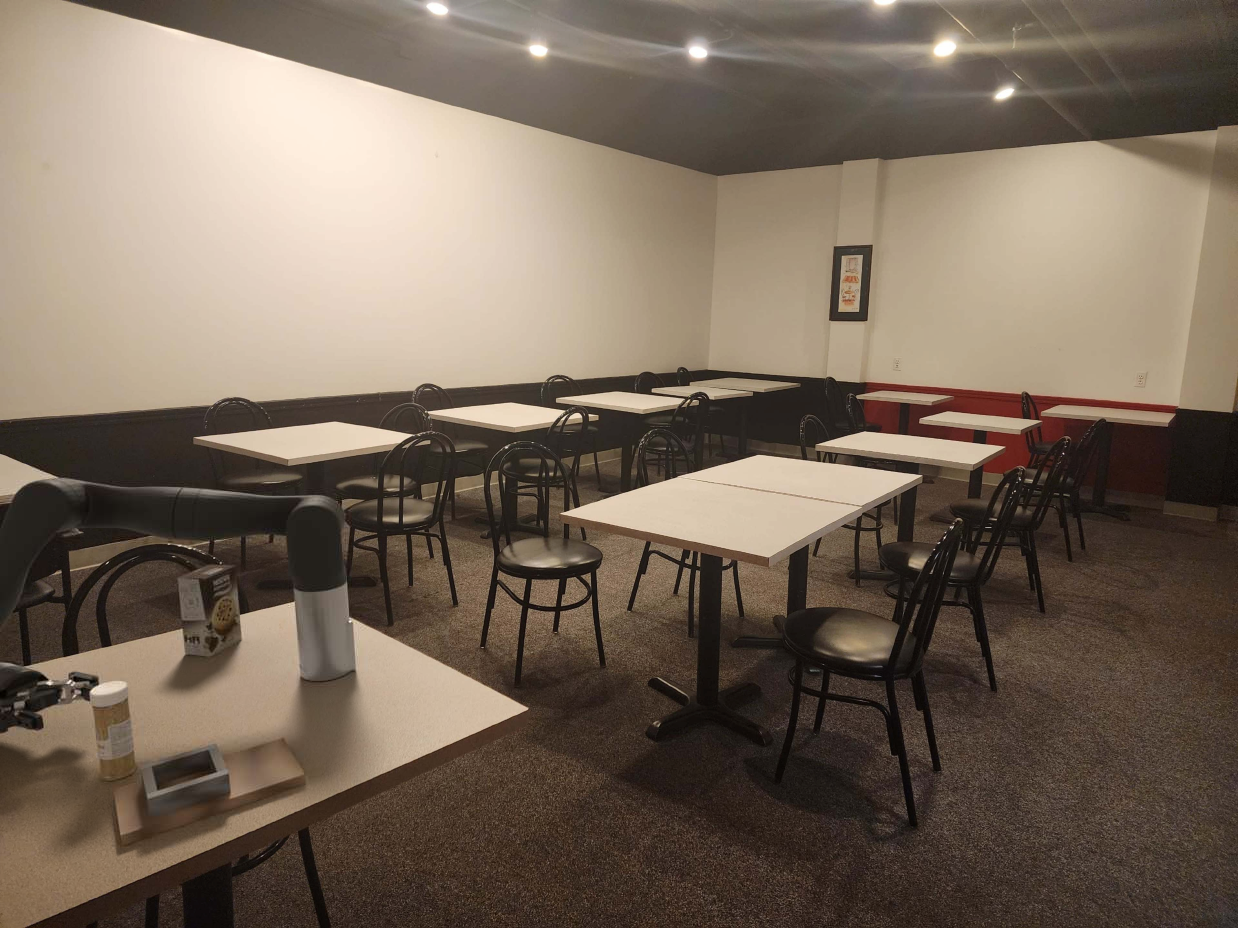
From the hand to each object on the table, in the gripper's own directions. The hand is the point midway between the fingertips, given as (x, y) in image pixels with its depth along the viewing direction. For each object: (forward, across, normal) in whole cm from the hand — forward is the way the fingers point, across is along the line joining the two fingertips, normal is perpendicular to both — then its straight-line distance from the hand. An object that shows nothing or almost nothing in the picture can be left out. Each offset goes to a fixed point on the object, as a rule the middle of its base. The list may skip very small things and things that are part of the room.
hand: (72, 709), depth 112 cm
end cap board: (+26, +2, +8) cm, 27 cm away
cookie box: (-17, +37, +8) cm, 41 cm away
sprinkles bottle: (+9, 0, +8) cm, 12 cm away
